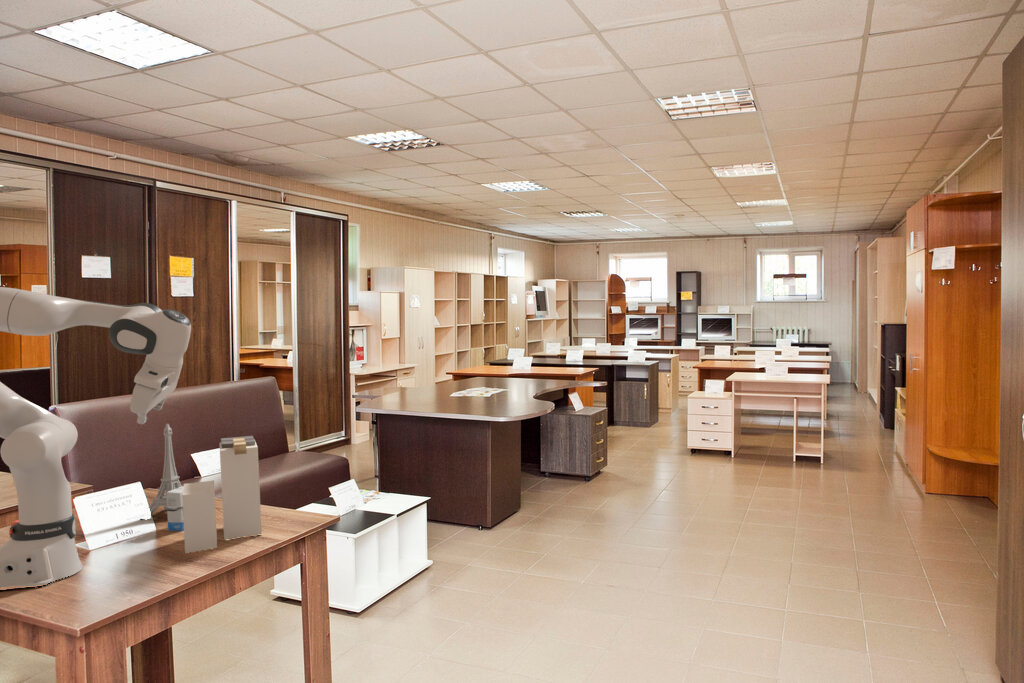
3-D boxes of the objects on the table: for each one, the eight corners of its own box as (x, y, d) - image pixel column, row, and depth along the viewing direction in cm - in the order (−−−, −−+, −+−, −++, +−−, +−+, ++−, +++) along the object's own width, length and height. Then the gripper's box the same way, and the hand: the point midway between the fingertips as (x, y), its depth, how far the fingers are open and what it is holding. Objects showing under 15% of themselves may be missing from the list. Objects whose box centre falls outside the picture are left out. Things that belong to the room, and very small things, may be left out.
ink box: (181, 531, 204) (179, 492, 203) (167, 531, 205) (165, 492, 204) (200, 522, 212) (198, 485, 212) (186, 522, 213) (184, 485, 213)
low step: (185, 553, 184) (182, 495, 184) (186, 538, 197) (183, 483, 197) (217, 548, 188) (214, 491, 187) (216, 534, 200) (213, 480, 200)
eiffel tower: (139, 520, 217) (134, 427, 216) (167, 508, 230) (163, 420, 229) (176, 521, 215) (171, 427, 213) (203, 509, 228) (198, 420, 227)
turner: (221, 442, 206) (220, 433, 206) (252, 439, 210) (252, 430, 210) (222, 455, 185) (222, 446, 185) (258, 452, 189) (257, 443, 189)
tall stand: (224, 540, 194) (220, 450, 193) (223, 527, 207) (219, 442, 206) (261, 535, 198) (257, 447, 197) (258, 522, 211) (254, 439, 210)
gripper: (166, 354, 188) (154, 398, 191) (131, 378, 169) (118, 427, 172) (189, 362, 189) (177, 405, 192) (157, 386, 170) (143, 434, 173)
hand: (149, 416), depth 182 cm, fingers open, 8 cm apart
